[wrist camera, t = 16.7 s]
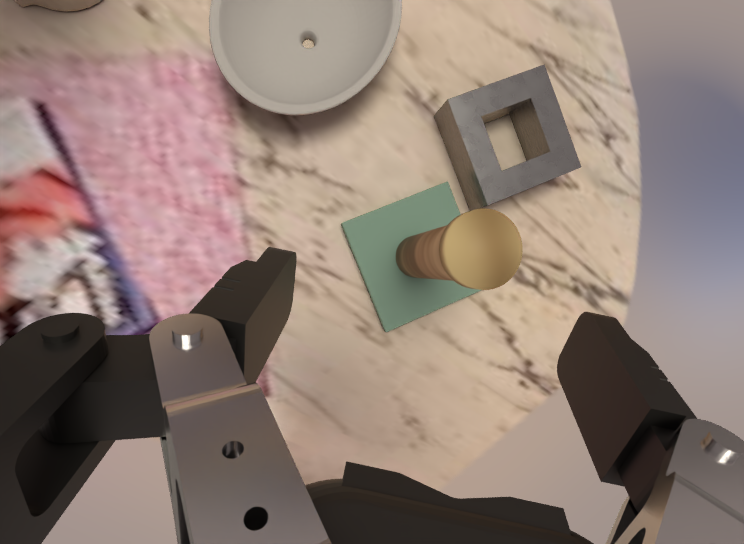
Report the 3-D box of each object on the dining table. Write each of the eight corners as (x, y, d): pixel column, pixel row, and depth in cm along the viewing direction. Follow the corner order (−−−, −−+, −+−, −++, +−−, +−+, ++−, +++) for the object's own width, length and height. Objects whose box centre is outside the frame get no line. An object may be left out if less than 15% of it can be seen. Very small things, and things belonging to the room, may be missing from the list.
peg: (402, 289, 39) (463, 302, 24) (383, 242, 39) (433, 226, 24) (447, 270, 40) (533, 271, 25) (429, 223, 40) (505, 196, 25)
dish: (316, 167, 39) (317, 153, 34) (183, 68, 37) (165, 37, 32) (422, 24, 41) (438, -10, 36) (300, -79, 39) (300, -130, 34)
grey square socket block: (470, 211, 41) (487, 205, 37) (433, 115, 41) (447, 99, 37) (555, 176, 43) (581, 167, 39) (521, 83, 42) (544, 64, 38)
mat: (384, 330, 40) (386, 332, 39) (340, 224, 39) (341, 223, 38) (483, 286, 42) (488, 287, 41) (444, 183, 41) (447, 181, 40)
